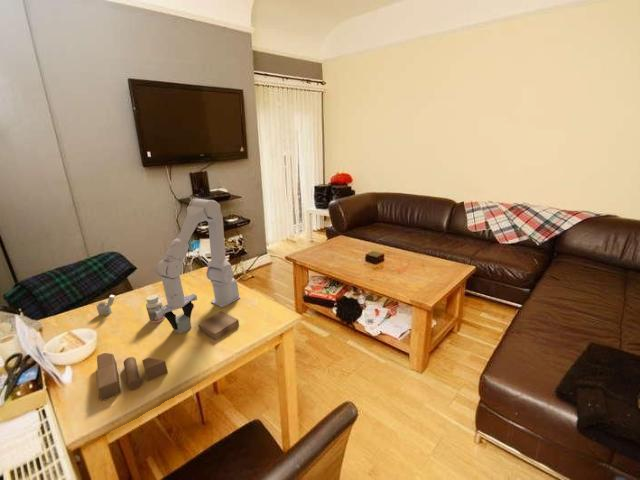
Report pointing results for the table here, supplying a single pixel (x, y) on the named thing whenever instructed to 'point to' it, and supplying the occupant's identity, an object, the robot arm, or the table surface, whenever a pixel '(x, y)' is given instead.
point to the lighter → (105, 306)
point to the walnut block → (218, 325)
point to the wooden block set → (110, 377)
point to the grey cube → (182, 323)
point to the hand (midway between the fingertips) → (181, 325)
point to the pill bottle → (154, 308)
